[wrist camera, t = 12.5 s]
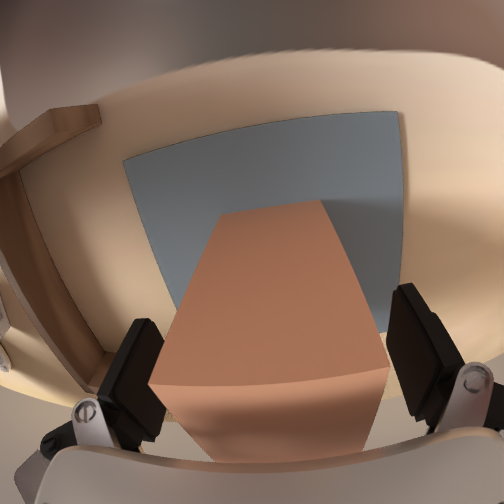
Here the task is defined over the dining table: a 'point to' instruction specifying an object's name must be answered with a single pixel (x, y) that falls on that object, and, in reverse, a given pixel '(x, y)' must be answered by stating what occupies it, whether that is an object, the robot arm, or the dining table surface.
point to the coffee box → (3, 320)
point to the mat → (280, 192)
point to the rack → (36, 254)
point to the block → (273, 343)
